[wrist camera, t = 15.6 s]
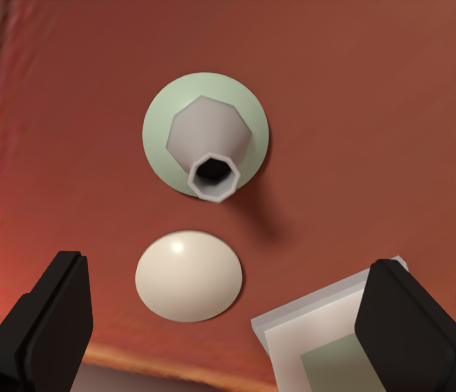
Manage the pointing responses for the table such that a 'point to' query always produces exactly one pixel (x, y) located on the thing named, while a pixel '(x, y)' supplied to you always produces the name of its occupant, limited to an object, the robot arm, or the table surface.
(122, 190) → the table surface
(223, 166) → the flask
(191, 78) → the green pad
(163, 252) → the cream pad
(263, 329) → the control unit
